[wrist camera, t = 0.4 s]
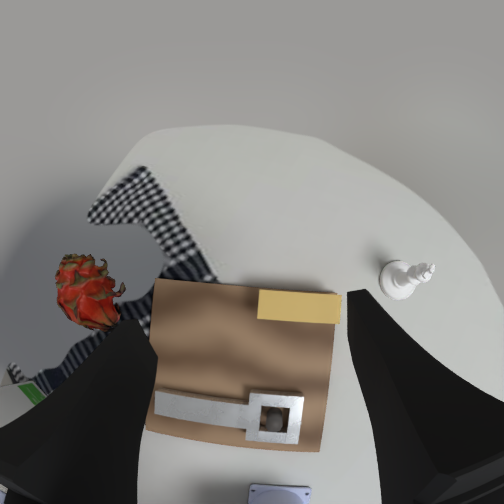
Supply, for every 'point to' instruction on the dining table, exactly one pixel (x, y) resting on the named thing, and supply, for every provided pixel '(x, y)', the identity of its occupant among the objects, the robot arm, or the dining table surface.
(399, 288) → the chess piece
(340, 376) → the dining table surface
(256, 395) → the link
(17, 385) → the skincare box
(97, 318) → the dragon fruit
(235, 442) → the board
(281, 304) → the block
